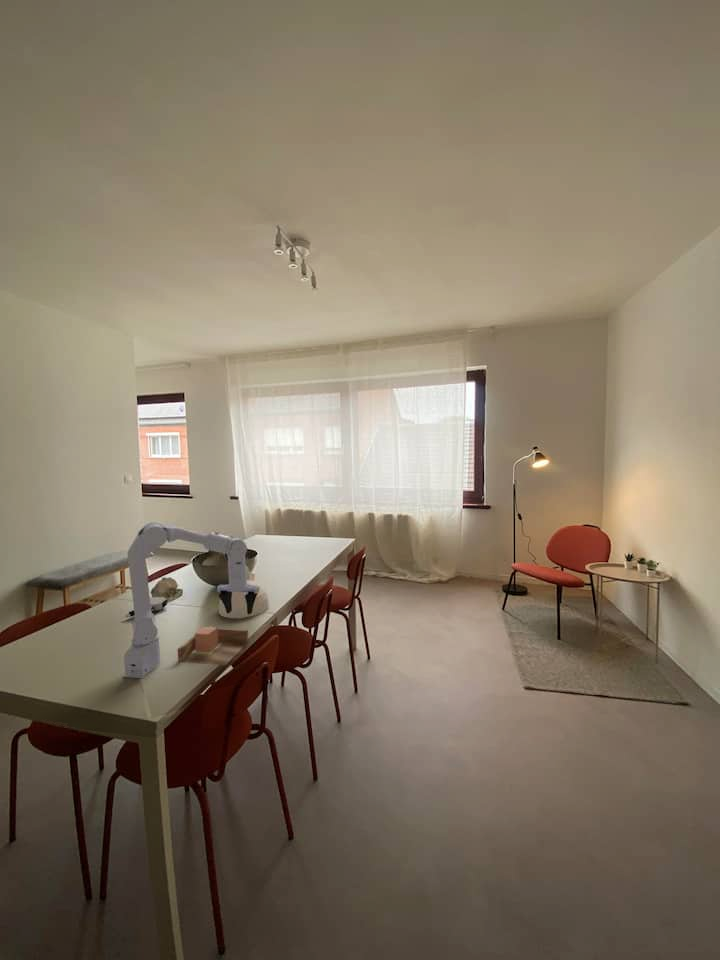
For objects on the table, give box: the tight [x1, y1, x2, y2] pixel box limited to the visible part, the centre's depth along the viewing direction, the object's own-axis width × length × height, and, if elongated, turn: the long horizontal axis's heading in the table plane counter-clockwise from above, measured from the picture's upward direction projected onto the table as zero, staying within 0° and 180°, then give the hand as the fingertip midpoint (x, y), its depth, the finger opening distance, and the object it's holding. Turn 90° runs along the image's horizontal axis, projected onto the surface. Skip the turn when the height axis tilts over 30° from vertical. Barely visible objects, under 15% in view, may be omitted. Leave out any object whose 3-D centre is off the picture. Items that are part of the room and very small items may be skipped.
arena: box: [177, 627, 249, 666], centre depth 128 cm, size 15×16×5 cm
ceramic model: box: [149, 576, 184, 603], centre depth 179 cm, size 14×11×10 cm
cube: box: [194, 626, 218, 652], centre depth 129 cm, size 5×5×6 cm
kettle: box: [218, 565, 270, 619], centre depth 164 cm, size 20×21×18 cm
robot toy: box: [125, 596, 171, 618], centre depth 163 cm, size 12×4×15 cm
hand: (239, 612), depth 134 cm, fingers open, 7 cm apart
